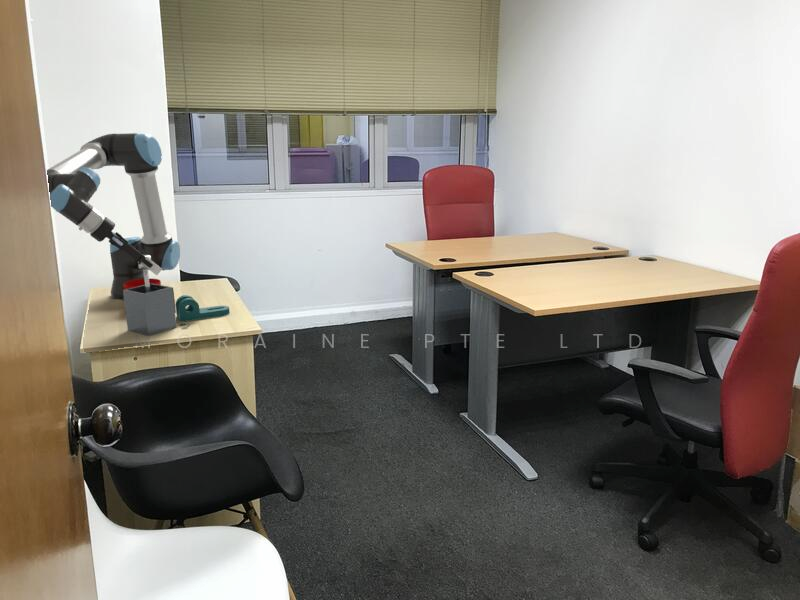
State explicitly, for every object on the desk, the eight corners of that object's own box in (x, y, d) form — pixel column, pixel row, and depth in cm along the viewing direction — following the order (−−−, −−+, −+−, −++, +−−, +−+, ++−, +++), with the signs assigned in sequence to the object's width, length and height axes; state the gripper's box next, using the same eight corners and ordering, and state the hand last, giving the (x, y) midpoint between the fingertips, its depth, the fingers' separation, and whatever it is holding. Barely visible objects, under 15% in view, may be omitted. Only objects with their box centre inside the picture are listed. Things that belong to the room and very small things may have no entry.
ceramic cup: (160, 314, 230) (157, 287, 227) (119, 311, 233) (115, 285, 231) (179, 304, 242) (176, 279, 239) (139, 302, 245) (136, 277, 243)
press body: (164, 319, 223) (160, 281, 219) (185, 324, 217) (181, 285, 214) (127, 330, 211) (122, 289, 207) (148, 335, 205) (143, 294, 202)
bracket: (180, 322, 220) (178, 300, 218) (176, 317, 226) (174, 296, 224) (231, 314, 229) (230, 293, 227) (226, 310, 235) (225, 290, 233)
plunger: (152, 302, 216) (147, 252, 212) (168, 305, 212) (163, 255, 207) (130, 308, 209) (124, 256, 205) (146, 311, 205) (140, 259, 200)
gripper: (86, 230, 204) (146, 274, 216) (91, 238, 189) (155, 284, 202) (102, 213, 205) (160, 258, 217) (108, 219, 191) (170, 266, 203)
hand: (157, 270), depth 209 cm, fingers closed on plunger, 4 cm apart
